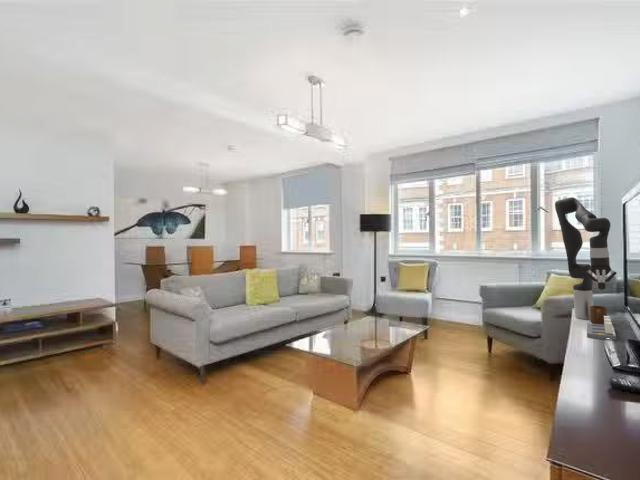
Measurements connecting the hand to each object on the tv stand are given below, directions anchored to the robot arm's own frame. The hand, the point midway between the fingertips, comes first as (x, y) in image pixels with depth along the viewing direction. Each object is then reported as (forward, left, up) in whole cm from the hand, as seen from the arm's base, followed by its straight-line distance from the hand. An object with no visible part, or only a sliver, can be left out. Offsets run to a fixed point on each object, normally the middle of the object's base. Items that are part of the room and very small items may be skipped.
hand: (602, 289), depth 174 cm
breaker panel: (+1, -2, -23) cm, 23 cm away
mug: (-20, +3, -23) cm, 30 cm away
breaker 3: (+10, -1, -20) cm, 22 cm away
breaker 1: (-6, +3, -20) cm, 21 cm away
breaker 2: (+2, +1, -20) cm, 20 cm away
